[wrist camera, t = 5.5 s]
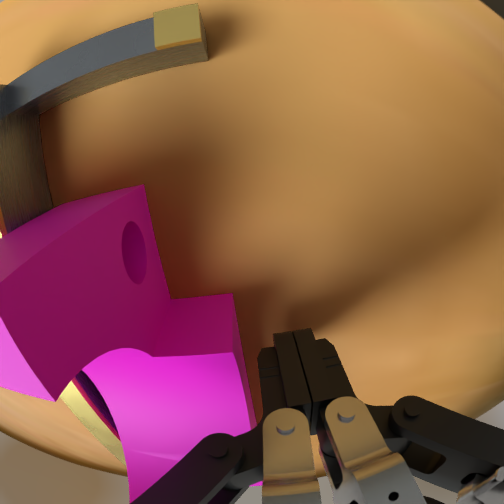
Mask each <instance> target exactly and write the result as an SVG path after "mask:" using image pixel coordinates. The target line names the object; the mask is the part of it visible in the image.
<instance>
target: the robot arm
mask: <svg viewBox="0 0 504 504" xmlns="http://www.w3.org/2000/svg"><path fill="white" fill-rule="evenodd" d="M273 341H274V347H268V348H262V349H261V351H260V353H259V356H258V358H257V359H258V368H259V377H260V385H261V394H262V402H263V417H262V420H261V421H260V423H259V424H258V425H257V426H256V427H255V428H253V429H252V430H250V431H248V432H245V433H243V434H240V435H237V436H235V437H234V436H232V435H230V434H226V433H214V434H210V435H208V436H206V437H204V438H203V439H202V440H201V441H200V442H199V443H198V444H197V445H196V446H195V447H194V448H193V449H192V450H191V451H190V452H188V453H187V454H186V455H185V456H184V457H183V458H182V459H181V460H180V461H179V462H178V463H177V464H176V465H175V466H174V467H172V468H171V469H170V470H169V471H168V472H167V473H166V474H165V475H164V476H162V477H161V478H160V479H159V480H158V481H157V482H156V483H154V484H153V485H152V486H151V487H150V488H148V489H147V490H146V491H145V492H144V493H142V494H141V495H140V496H139V497H138V498H136V499H135V500H134V501H133V502H131V503H130V504H234V503H235V502H236V501H237V500H238V499H239V498H240V496H241V495H242V494H243V493H244V492H245V491H246V490H247V489H248V487H249V486H250V485H252V484H255V483H258V482H260V481H263V484H262V504H321V495H320V488H319V483H318V480H317V477H316V475H315V468H314V460H313V453H312V445H311V438H310V435H315V434H317V436H318V439H319V454H320V456H321V459H322V462H323V465H324V468H325V471H326V474H327V476H328V479H329V482H330V485H331V488H332V491H333V501H334V504H444V503H442V502H440V501H437V500H435V499H433V498H430V497H426V496H423V495H422V493H421V491H420V489H419V487H418V485H417V483H416V481H415V479H414V477H413V476H415V477H418V478H420V479H422V480H425V481H427V482H430V483H432V484H434V485H437V486H439V487H442V488H445V489H447V490H450V491H453V492H456V493H458V498H457V504H504V430H503V429H500V428H497V427H494V426H491V425H489V424H486V423H483V422H480V421H478V420H475V419H472V418H470V417H467V416H464V415H462V414H459V413H457V412H454V411H452V410H449V409H447V408H444V407H442V406H439V405H437V404H434V403H432V402H430V401H427V400H425V399H423V398H420V397H417V396H405V397H403V398H401V399H399V400H398V401H397V402H396V403H395V404H394V406H372V405H368V404H365V403H363V402H362V401H361V400H359V399H358V398H357V397H356V396H355V394H354V392H353V389H352V387H351V385H350V382H349V380H348V377H347V375H346V373H345V370H344V368H343V366H342V364H341V361H340V359H339V357H338V354H337V352H336V349H335V347H334V345H332V344H331V343H330V342H329V341H328V340H327V339H325V338H324V339H318V340H315V337H314V335H313V332H312V330H311V328H307V329H301V330H295V331H292V332H291V331H289V332H282V333H275V334H273Z"/></svg>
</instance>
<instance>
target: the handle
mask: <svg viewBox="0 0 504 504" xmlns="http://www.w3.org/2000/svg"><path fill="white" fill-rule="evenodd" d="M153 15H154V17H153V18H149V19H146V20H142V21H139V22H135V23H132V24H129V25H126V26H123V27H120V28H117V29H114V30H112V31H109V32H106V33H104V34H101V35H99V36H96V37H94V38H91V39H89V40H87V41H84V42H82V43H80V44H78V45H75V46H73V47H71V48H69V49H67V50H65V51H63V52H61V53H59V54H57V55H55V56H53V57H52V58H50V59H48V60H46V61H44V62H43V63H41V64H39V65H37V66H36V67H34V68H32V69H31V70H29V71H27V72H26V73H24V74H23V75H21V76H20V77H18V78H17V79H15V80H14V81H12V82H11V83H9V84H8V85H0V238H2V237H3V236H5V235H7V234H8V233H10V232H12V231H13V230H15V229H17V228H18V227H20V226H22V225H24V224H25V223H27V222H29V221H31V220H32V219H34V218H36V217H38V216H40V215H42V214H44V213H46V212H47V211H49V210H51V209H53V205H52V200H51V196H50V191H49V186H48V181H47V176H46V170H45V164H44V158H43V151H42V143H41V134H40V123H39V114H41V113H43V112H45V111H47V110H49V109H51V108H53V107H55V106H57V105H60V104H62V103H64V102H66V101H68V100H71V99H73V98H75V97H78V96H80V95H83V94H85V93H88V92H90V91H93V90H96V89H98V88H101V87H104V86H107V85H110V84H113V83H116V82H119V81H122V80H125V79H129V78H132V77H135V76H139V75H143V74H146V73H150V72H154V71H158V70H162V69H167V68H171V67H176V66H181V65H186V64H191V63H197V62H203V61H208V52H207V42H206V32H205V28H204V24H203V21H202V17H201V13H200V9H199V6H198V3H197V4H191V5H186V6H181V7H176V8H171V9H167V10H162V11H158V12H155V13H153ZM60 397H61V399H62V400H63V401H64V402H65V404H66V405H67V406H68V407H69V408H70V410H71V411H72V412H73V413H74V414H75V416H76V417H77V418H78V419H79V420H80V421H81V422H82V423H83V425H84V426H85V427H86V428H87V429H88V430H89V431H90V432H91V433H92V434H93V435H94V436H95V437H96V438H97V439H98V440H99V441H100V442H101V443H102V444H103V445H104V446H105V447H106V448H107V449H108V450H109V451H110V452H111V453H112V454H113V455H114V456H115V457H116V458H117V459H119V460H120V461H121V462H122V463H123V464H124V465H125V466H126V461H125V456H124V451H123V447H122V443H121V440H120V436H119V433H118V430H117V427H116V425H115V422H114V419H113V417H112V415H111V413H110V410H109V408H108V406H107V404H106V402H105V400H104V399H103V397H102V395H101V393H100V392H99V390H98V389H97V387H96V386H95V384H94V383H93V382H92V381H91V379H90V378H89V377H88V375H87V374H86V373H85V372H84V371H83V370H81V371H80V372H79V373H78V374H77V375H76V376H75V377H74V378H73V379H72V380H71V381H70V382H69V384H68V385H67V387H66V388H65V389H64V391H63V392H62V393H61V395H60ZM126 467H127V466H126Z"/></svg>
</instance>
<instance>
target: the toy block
mask: <svg viewBox="0 0 504 504" xmlns="http://www.w3.org/2000/svg"><path fill="white" fill-rule="evenodd" d="M81 370H83V371H84V372H85V373H86V374H87V375H88V377H89V378H90V379H91V381H92V382H93V383H94V384H95V386H96V387H97V389H98V390H99V392H100V393H101V395H102V397H103V399H104V400H105V402H106V404H107V406H108V408H109V410H110V413H111V415H112V417H113V419H114V422H115V425H116V427H117V430H118V433H119V436H120V440H121V443H122V447H123V451H124V456H125V461H126V466H127V473H128V481H129V495H130V503H131V502H133V501H134V500H135V499H136V498H138V497H139V496H140V495H141V494H142V493H144V492H145V491H146V490H147V489H148V488H150V487H151V486H152V485H153V484H154V483H156V482H157V481H158V480H159V479H160V478H161V477H162V476H164V475H165V474H166V473H167V472H168V471H169V470H170V469H171V468H172V467H174V466H175V465H176V464H177V463H178V462H179V461H180V460H181V459H182V458H183V457H184V456H185V455H186V454H187V453H188V452H190V451H191V450H192V449H193V448H194V447H195V446H196V445H197V444H198V443H199V442H200V441H201V440H202V439H203V438H204V437H206V436H208V435H210V434H214V433H226V434H230V435H232V436H234V437H235V436H237V435H240V434H243V433H245V432H248V431H250V430H252V429H253V428H255V427H256V426H257V423H256V418H255V413H254V408H253V403H252V398H251V393H250V388H249V382H248V377H247V372H246V367H245V361H244V356H243V351H242V345H241V339H240V334H239V328H238V323H237V317H236V311H235V305H234V299H233V293H228V294H219V295H210V296H201V297H191V298H181V299H171V297H170V293H169V290H168V286H167V282H166V279H165V275H164V271H163V268H162V264H161V260H160V256H159V252H158V248H157V244H156V239H155V235H154V231H153V226H152V222H151V217H150V212H149V208H148V203H147V198H146V192H145V187H144V184H143V185H138V186H133V187H128V188H124V189H119V190H115V191H111V192H106V193H102V194H98V195H94V196H90V197H86V198H82V199H79V200H75V201H71V202H68V203H64V204H61V205H59V206H57V207H55V208H53V209H51V210H49V211H47V212H46V213H44V214H42V215H40V216H38V217H36V218H34V219H32V220H31V221H29V222H27V223H25V224H24V225H22V226H20V227H18V228H17V229H15V230H13V231H12V232H10V233H8V234H7V235H5V236H3V237H2V238H0V387H3V388H6V389H9V390H12V391H16V392H19V393H22V394H26V395H30V396H33V397H37V398H41V399H45V400H50V401H54V402H56V401H57V399H58V398H59V396H60V395H61V393H62V392H63V391H64V389H65V388H66V387H67V385H68V384H69V382H70V381H71V380H72V379H73V378H74V377H75V376H76V375H77V374H78V373H79V372H80V371H81ZM262 484H263V481H260V482H258V483H255V484H252V485H250V486H260V485H262Z"/></svg>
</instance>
